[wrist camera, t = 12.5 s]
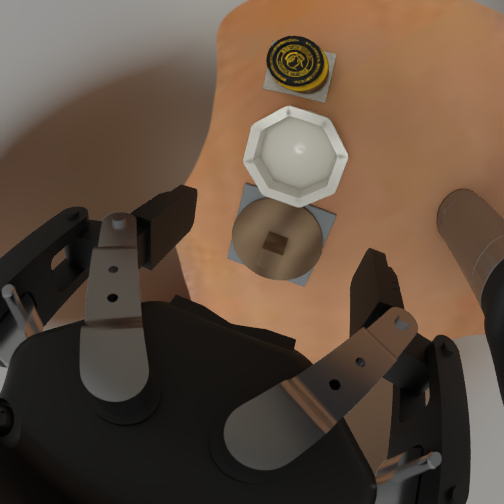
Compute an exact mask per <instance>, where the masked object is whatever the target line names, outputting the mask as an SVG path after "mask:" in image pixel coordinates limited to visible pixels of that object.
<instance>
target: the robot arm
mask: <svg viewBox="0 0 504 504" xmlns="http://www.w3.org/2000/svg"><path fill="white" fill-rule="evenodd" d="M196 202H197V189H195V188H192V187H188V186H185V185H180V186H178V187H177V188H175V189H173V190H172V191H170V192H165V193H161V194H158V195H157V196H155V197H154V198H152V200H149V201H148V202H147V203H145V204H143V205H142V206H140V207H139V208H137V209H136V210H134V211H133V212H131V213H127V212H116V213H112V214H109V215H107V216H106V217H105V218H104V219H103V221H95V220H89V216H88V210H87V209H86V208H84V207H71V208H67V209H65V210H63V211H62V212H60V213H59V214H57V215H56V216H54V217H53V218H52V219H50V220H49V221H47V222H46V223H45V224H43V225H42V226H41V227H39V228H38V229H37V230H35V231H34V232H32V233H31V234H30V235H29V236H27V237H26V238H25V239H24V240H22V241H21V242H20V243H18V244H17V245H16V246H15V247H13V248H12V249H11V250H10V251H9V252H7V253H6V254H5V255H4V256H3V257H2V258H1V259H0V366H1V367H8V371H7V375H6V379H5V382H4V385H3V388H2V391H1V393H0V504H466V501H467V499H468V494H469V483H470V459H471V456H470V454H471V449H470V425H469V412H468V403H467V395H466V387H465V381H464V375H463V369H462V364H461V359H460V355H459V350H458V348H457V346H456V345H455V343H454V342H453V341H452V340H451V339H450V338H448V337H447V336H445V335H438V336H436V337H435V338H434V340H433V341H432V342H431V341H430V340H428V339H426V338H425V337H423V336H422V335H420V334H419V333H417V332H418V325H417V322H416V320H415V319H414V317H413V316H412V315H411V314H410V313H409V312H407V311H406V310H404V305H403V300H402V296H401V292H400V287H399V283H398V279H397V276H396V274H395V272H394V271H393V269H392V268H391V267H388V264H387V260H386V256H385V254H384V253H382V252H379V251H377V250H374V249H372V248H369V249H368V250H367V251H366V253H365V255H364V257H363V259H362V261H361V263H360V265H359V267H358V268H357V270H356V272H355V274H354V276H353V279H352V282H351V286H350V338H349V339H347V340H346V341H345V342H344V343H342V344H341V345H340V346H338V347H337V348H336V349H334V350H333V351H332V352H330V353H329V354H327V355H326V356H325V357H323V358H322V359H320V360H319V361H318V362H316V363H315V364H312V363H311V362H310V361H309V360H308V359H307V358H306V357H305V356H304V355H302V354H301V353H300V352H298V351H297V350H295V349H294V347H295V342H296V339H293V338H290V337H287V336H284V335H281V334H278V333H275V332H272V331H269V330H266V329H260V328H253V327H247V326H240V325H234V324H231V323H229V322H227V321H226V320H224V319H223V318H221V317H220V316H218V315H217V314H215V313H214V312H212V311H211V310H209V309H208V308H206V307H205V306H203V305H200V304H198V303H195V302H193V301H190V300H188V299H185V298H183V297H181V296H178V295H175V297H174V298H173V299H172V301H171V302H164V301H147V302H141V294H140V281H139V269H140V268H141V267H145V268H147V269H149V270H152V269H153V268H154V267H155V266H156V265H157V264H158V263H159V262H160V261H161V260H162V259H163V258H164V257H165V256H166V255H167V254H168V253H169V252H170V251H171V249H172V248H173V247H174V246H175V245H176V244H177V243H178V242H179V241H180V240H181V239H182V238H183V237H184V236H185V235H186V234H187V233H188V232H189V231H190V230H191V228H192V226H193V223H194V218H195V210H196ZM437 225H438V230H439V232H440V234H441V236H442V237H443V239H444V241H445V242H446V244H447V245H448V247H449V249H450V251H451V252H452V254H453V256H454V257H455V259H456V261H457V262H458V264H459V266H460V268H461V270H462V271H463V273H464V275H465V277H466V279H467V281H468V283H469V284H470V286H471V288H472V290H473V292H474V294H475V296H476V298H477V300H478V302H479V305H480V307H481V309H482V311H483V313H484V316H485V320H484V327H485V334H486V338H487V341H488V344H489V347H490V351H491V355H492V359H493V363H494V366H495V371H496V376H497V380H498V385H499V389H500V394H501V397H502V401H503V404H504V219H503V218H502V217H501V216H500V215H499V214H498V213H497V212H496V211H495V210H494V209H493V208H492V207H491V206H490V205H488V204H487V203H486V202H485V201H484V200H483V199H482V198H481V197H479V196H478V195H477V194H476V193H474V192H473V191H470V190H468V189H461V190H457V191H454V192H452V193H451V194H450V195H448V196H447V197H446V198H445V200H444V201H443V203H442V204H441V206H440V209H439V211H438V216H437ZM63 248H64V250H65V255H66V259H64V260H63V261H62V262H61V263H60V264H59V265H58V266H57V267H56V268H55V269H54V270H52V269H51V262H52V259H53V257H54V256H55V255H56V254H57V253H58V252H59V251H61V250H62V249H63ZM88 277H89V279H88V287H87V288H88V289H87V297H86V309H85V319H84V320H81V321H77V322H74V323H71V324H67V325H64V326H61V327H57V328H54V329H50V330H47V331H43V327H44V326H45V325H46V324H47V322H48V321H49V320H50V319H51V318H52V317H53V315H54V314H55V313H56V312H57V311H58V309H59V308H60V307H61V306H62V305H63V304H64V303H65V302H66V301H67V300H68V298H69V297H70V296H71V295H72V294H73V293H74V292H75V291H76V290H77V289H78V288H79V287H80V285H81V284H82V283H83V282H84V281H85V280H86V279H87V278H88ZM382 377H383V378H384V379H386V380H388V381H390V382H392V383H393V401H392V417H391V430H390V440H389V448H388V456H387V460H386V461H384V462H383V463H382V464H381V465H380V467H379V469H378V471H377V474H376V476H375V475H374V473H373V471H372V469H371V467H370V465H369V464H368V462H367V460H366V458H365V456H364V454H363V452H362V451H361V449H360V447H359V445H358V443H357V441H356V439H355V438H354V436H353V434H352V432H351V430H350V428H349V427H348V425H347V423H346V421H345V419H344V416H345V415H346V414H347V413H348V412H349V411H350V410H351V409H352V408H353V407H354V406H355V405H356V404H357V403H358V402H359V401H360V400H361V399H362V398H363V397H364V396H365V395H366V394H367V393H368V392H369V391H370V390H371V389H372V388H373V387H374V386H375V385H376V384H377V383H378V381H379V380H380V379H381V378H382ZM428 388H429V390H430V399H429V402H428V404H427V406H426V404H425V391H426V390H427V389H428Z"/></svg>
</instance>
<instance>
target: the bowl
mask: <svg viewBox="0 0 504 504" xmlns="http://www.w3.org/2000/svg"><path fill="white" fill-rule="evenodd" d="M347 160H348V153H347V151H346V148H345V146H344V144H343V142H342V140H341V138H340V136H339V134H338V132H337V130H336V129H335V127H334V125H333V123H332V121H331V119H330V118H329V117H327V116H324V115H321V114H318V113H316V112H314V111H311V110H307V109H303V108H300V107H296V106H293V105H290V106H286V107H284V108H282V109H280V110H278V111H276V112H274V113H272V114H270V115H269V116H267V117H265V118H263V119H261V120H259V121H258V122H256V123H254V124H253V125H252V127H251V131H250V135H249V139H248V143H247V147H246V151H245V155H244V159H243V161H244V162H243V163H244V165H245V166H246V168H247V170H248V171H249V173H250V175H251V177H252V178H253V180H254V182H255V183H256V185H257V187H258V188H259V190H260V192H261V194H263V196H266V197H269V198H272V199H275V200H278V201H281V202H284V203H287V204H289V205H292V206H295V207H298V208H299V207H300V208H301V207H303V206H305V205H308V204H310V203H313V202H315V201H317V200H320V199H322V198H325V197H327V196H330V195H332V194H334V193H335V192H336V189H337V186H338V184H339V181H340V179H341V176H342V173H343V171H344V168H345V165H346V163H347Z"/></svg>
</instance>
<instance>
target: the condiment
mask: <svg viewBox="0 0 504 504" xmlns="http://www.w3.org/2000/svg"><path fill="white" fill-rule="evenodd" d="M335 59H336V54H333V53H329V52H325V51H323V50H322V49H321V48H320V47H319V46H317V45H316V44H315V43H314V42H312V41H311V40H309V39H307V38H304V37H300V36H287V37H284V38H282V39H280V40H278V41H277V42H275V41H272V46H271V48H270V49H269V51H268V54H267V71H266V76H265V81H264V85H263V89H266V90H271V91H276V92H281V93H286V94H290V95H295V96H299V97H303V98H307V99H311V100H315V101H319V102H323V103H325V102H326V98H327V94H328V90H329V85H330V81H331V77H332V72H333V68H334V63H335Z"/></svg>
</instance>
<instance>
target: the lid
mask: <svg viewBox="0 0 504 504" xmlns="http://www.w3.org/2000/svg"><path fill="white" fill-rule="evenodd" d="M232 241H233V246H234V249H235V251H236V253H237V255H238V257H239V258H240V260H241V261H242V262H243V263H244V264H245V265H246V266H247V267H248V268H249V269H250V270H252V271H253V272H255V273H256V274H258V275H260V276H263V277H265V278H269V279H273V280H290V279H295V278H298V277H300V276H302V275H304V274H306V273H307V272H309V271H310V270H311V269H312V268H313V267H314V266H315V265H316V263H317V261H318V260H319V258H320V255H321V251H322V243H323V238H322V231H321V228H320V225H319V223H318V221H317V219H316V218H315V217H314V215H313V214H312V213H311V212H310V211H309V210H308V209H307V208H306V207H304V206H303V207H301V208H300V207H299V208H298V207H295V206H292V205H289V204H287V203H284V202H281V201H278V200H275V199H272V198H269V197H264V198H260V199H258V200H255V201H253V202H252V203H250V204H249V205H247V206H246V207H245V208H244V209H243V210H242V211H241V213H240V214H239V216H238V217H237V219H236V221H235V223H234V226H233V230H232Z"/></svg>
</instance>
